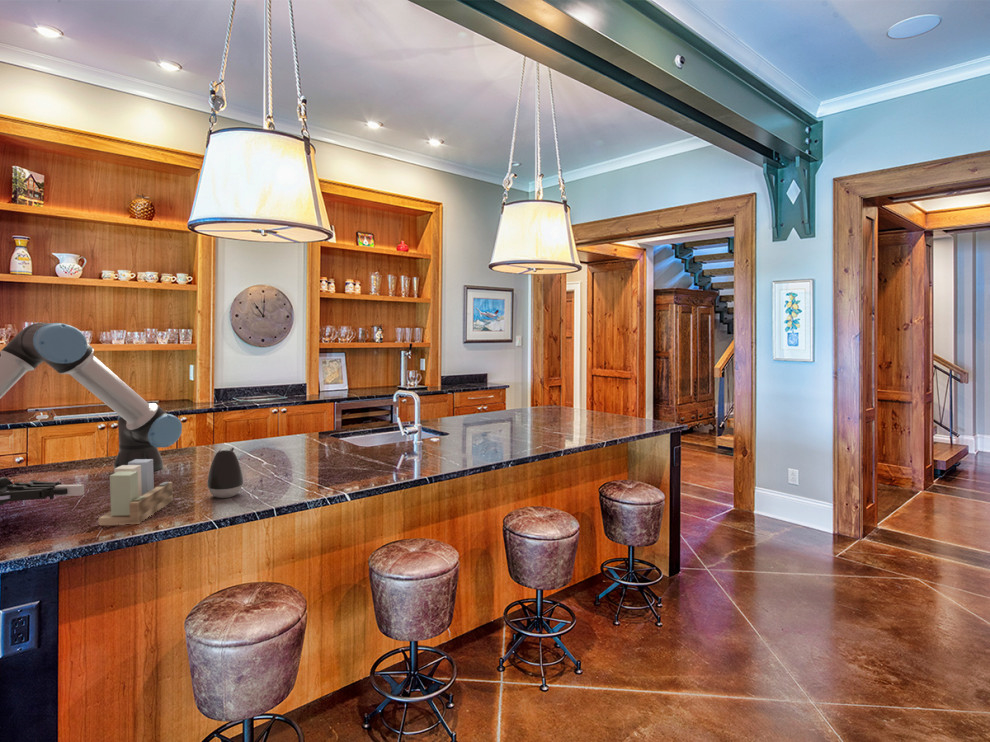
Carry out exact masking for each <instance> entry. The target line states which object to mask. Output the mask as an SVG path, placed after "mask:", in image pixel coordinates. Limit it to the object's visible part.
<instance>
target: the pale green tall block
mask: <svg viewBox="0 0 990 742" xmlns="http://www.w3.org/2000/svg"><path fill="white" fill-rule="evenodd" d="M109 497H110V511H111V516H121V515H130V505H129V503H131V502H132V501H134V499H136V498H138V471H130V472H116V473H112V474H110V475H109Z"/></svg>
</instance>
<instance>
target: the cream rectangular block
mask: <svg viewBox="0 0 990 742" xmlns="http://www.w3.org/2000/svg"><path fill="white" fill-rule="evenodd" d="M130 471H138V497H139V496H142V485H141V465H122V466H119V467H117V468H115V469H114V468H113V472H114V473H116V472H130ZM114 473H113V474H114Z"/></svg>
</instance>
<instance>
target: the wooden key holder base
mask: <svg viewBox="0 0 990 742" xmlns="http://www.w3.org/2000/svg"><path fill="white" fill-rule="evenodd" d="M173 493H174V492H173V481H163V482H162V483H159V485H158V486H155V487H154V489H152V490H151V491H149V492H147V493H146V494H144V495H142V496H139V497H138V498H136V499H134V501H132V502H131V503H129V505H130V515H121V516H111V510H110V511H109V512H107V513H104V514H103V515H102V516H100V517H98V526H99V525H100V526H126V525H125V524H139V525H140V524H141V523H143V522H144V521H146V520H147V519H149V518H150V517H152V516H153V515H155V514H156V513H157V511H158V512H159V511H160V510H162V509H163V508H165V507H166V506H168V505H169V504H171V503H172V502H173V496H174V494H173ZM161 508H162V509H161ZM155 512H156V513H155ZM154 513H155V514H154ZM151 515H152V516H151ZM149 516H150V517H149ZM148 517H149V518H148ZM145 519H146V520H145ZM142 521H143V522H142ZM118 524H119V525H118Z"/></svg>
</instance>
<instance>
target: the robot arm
mask: <svg viewBox="0 0 990 742" xmlns="http://www.w3.org/2000/svg"><path fill="white" fill-rule="evenodd" d="M94 352H95V350H94V347H93V346H91V345H90V344H89V343H88V341H87V338H86V336H85V334H84V333H83V332H82V331H81V330H80V329H78V328H76V327H75V326H72V325H70V324H67V323H61V322H36V323H33V324H32V323H31V324H30V325H28V326H25V327H24V328H23V329H21V330H20V331H19V332H18V333H17V334H16V335H15V336H14V337H13V338H12V339H11V340H10V341H9V342H8V343H7V344H6V345H5V346H4V347H3V348H2V349H1V350H0V400H1V399H2V398H3V397H4V396H5V395H6V394H7V392H9V391H10V389H12V387H14V385H15V384H16V383H18V381H20V379H21V378H23V376H24V375H25V374H26V373H27V372H29V371H31V372H32V371H34V370H35V369H36V368H37V367H38V366H39V365H41V364H42V363H43V362H44V363H46V364H47V365H48V366H49V367H50V368H52V369H53V370H54V371H56V372H57V373H58V374H59V375H60V374H61V375H69V376H70V377H71V378H73V379H74V380H76V381H77V382H78V383H79V384H80V385H81V386H83V387H84V388H85V389H86V390H88V391H89V392H90V393H92V394H93V395H94V396H95V397H96V398H97V399H98V400H100V401H101V402H102V403H104V404H105V405H106V406H107V407H108V408H110V409H111V410H112V411H114V413H116V414H117V426H118V430H117V431H118V453H117V456H116V459H115V462H114V464H113V470H114V469H115V468H117V467H119V466H122V465H128V462H130V461H133V460H135V459H153V472H156V471H159V470H160V469H161V470H162V468H163V467H164V461H163V457H162V455H161V453H160V451H159V448H163V449H164V448H168V447H170V446H173V445H174V444H176V443H177V441H178V440H179V439H180V437H181V435H182V432H183V431H182V430H183V424H182V422H181V420H180V419H179V418H178V417H177V416H175V415H174V414H172V413H167V411H165V410H164V409H163V408H161V407H160V406H159V405H158V404H157V403H155V402H148V401H146V400H145V398H143V397H142V396H141V395H140V394H138V393H137V392H136V391H135V389H133V388H131V386H129V385H128V384H127V383H126V382H124V380H122V379H121V377H119V376H118V375H117V374H116V373H114V372H113V371H112V370H111V369H110V368H109V367H107V366H106V365H105V364H104V363H103V362H102V361H101V360H100V359H98V358H97V357H96V356H95V355H94ZM83 495H85V484H62V482H60V481H55V482H54V481H43V480H42V481H40V480H35V479H32V480H30V481H29V482H22V481H16V482H14V483H13V482H12V481H11V480H10V479H9V478H7V477H4V476H3V477H2V476H1V477H0V506H2V505H5V504H6V503H8V502H17V501H18V502H19V501H32V500H33V501H35V500H45V499H47V498H49V500H54V498H55V497H68V496H69V497H73V496H74V497H77V496H83Z"/></svg>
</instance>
